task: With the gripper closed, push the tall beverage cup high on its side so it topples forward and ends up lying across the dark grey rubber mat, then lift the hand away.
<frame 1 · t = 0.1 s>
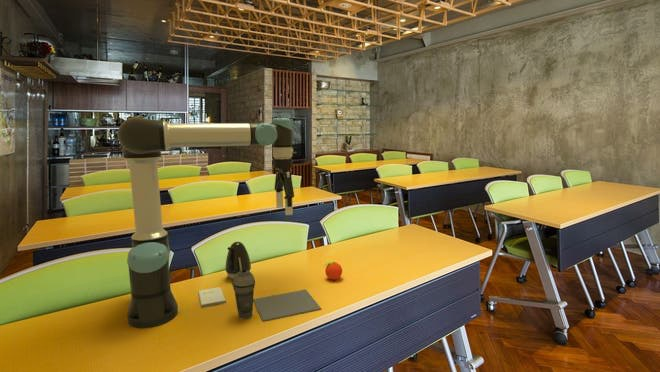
hand: (284, 211, 149), 28 cm above the table, tool pointing down, fingers open, 13 cm apart
black tapered dome: (238, 277, 154), on the table
beverage cup: (245, 316, 123), on the table
mat: (286, 304, 130), on the table
external hard drive: (211, 299, 136), on the table
clementine: (332, 279, 152), on the table
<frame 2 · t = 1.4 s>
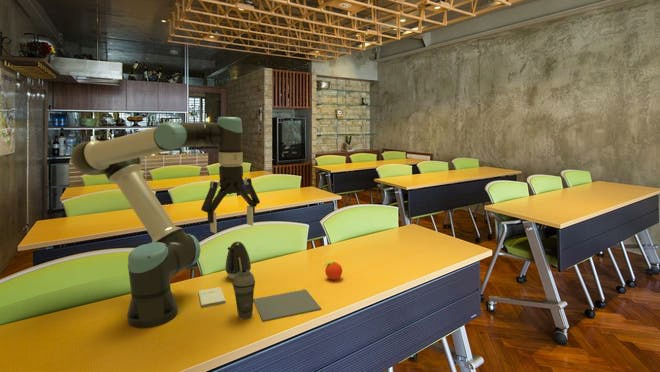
hand: (232, 228, 125), 28 cm above the table, tool pointing down, fingers open, 13 cm apart
nothing on the table moved.
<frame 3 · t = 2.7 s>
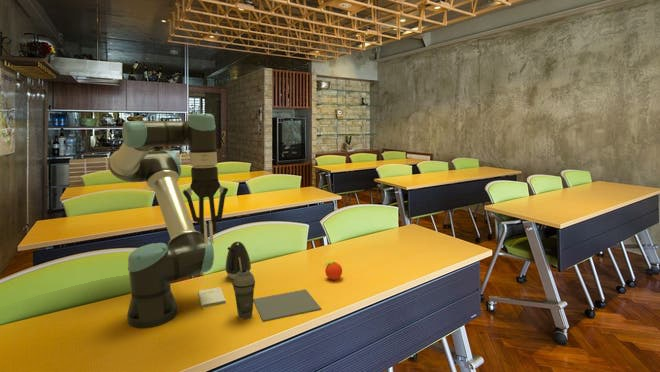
hand: (208, 242, 115), 26 cm above the table, tool pointing down, fingers closed
nothing on the table moved.
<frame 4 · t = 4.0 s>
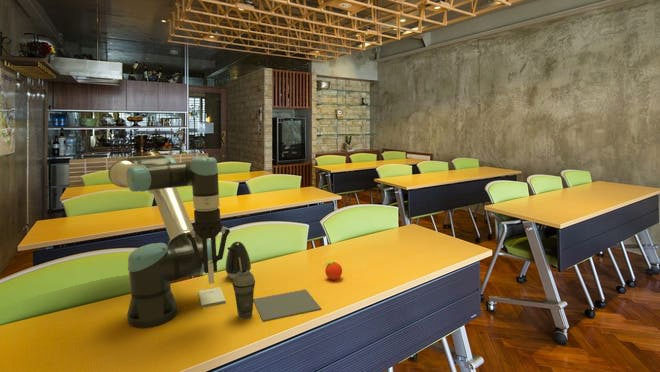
hand: (211, 281, 117), 14 cm above the table, tool pointing down, fingers closed
nothing on the table moved.
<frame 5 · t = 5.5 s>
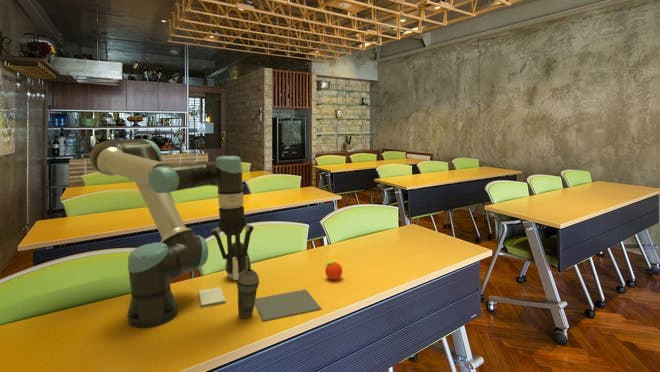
hand: (235, 278, 119), 14 cm above the table, tool pointing down, fingers closed
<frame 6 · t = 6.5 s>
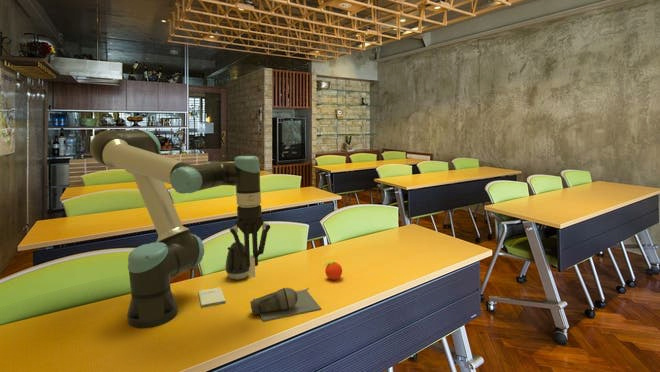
hand: (252, 275, 122), 14 cm above the table, tool pointing down, fingers closed
beverage cup: (250, 308, 123), point 2 cm above the table, touching mat
everything else where it was.
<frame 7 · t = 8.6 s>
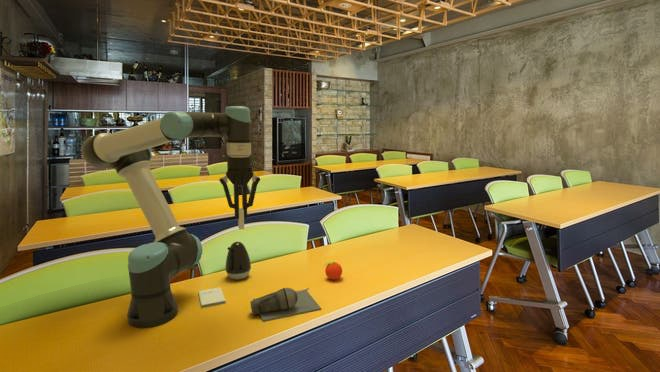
hand: (241, 227, 122), 29 cm above the table, tool pointing down, fingers closed
nothing on the table moved.
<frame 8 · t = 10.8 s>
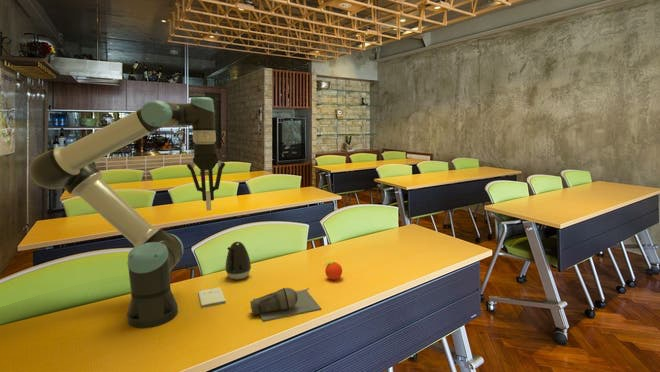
hand: (208, 209, 133), 32 cm above the table, tool pointing down, fingers closed
nothing on the table moved.
at the end: beverage cup tilted 81°; beverage cup inside the target area (9.1 cm from its centre), point 2.3 cm above the table; beverage cup touching mat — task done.
